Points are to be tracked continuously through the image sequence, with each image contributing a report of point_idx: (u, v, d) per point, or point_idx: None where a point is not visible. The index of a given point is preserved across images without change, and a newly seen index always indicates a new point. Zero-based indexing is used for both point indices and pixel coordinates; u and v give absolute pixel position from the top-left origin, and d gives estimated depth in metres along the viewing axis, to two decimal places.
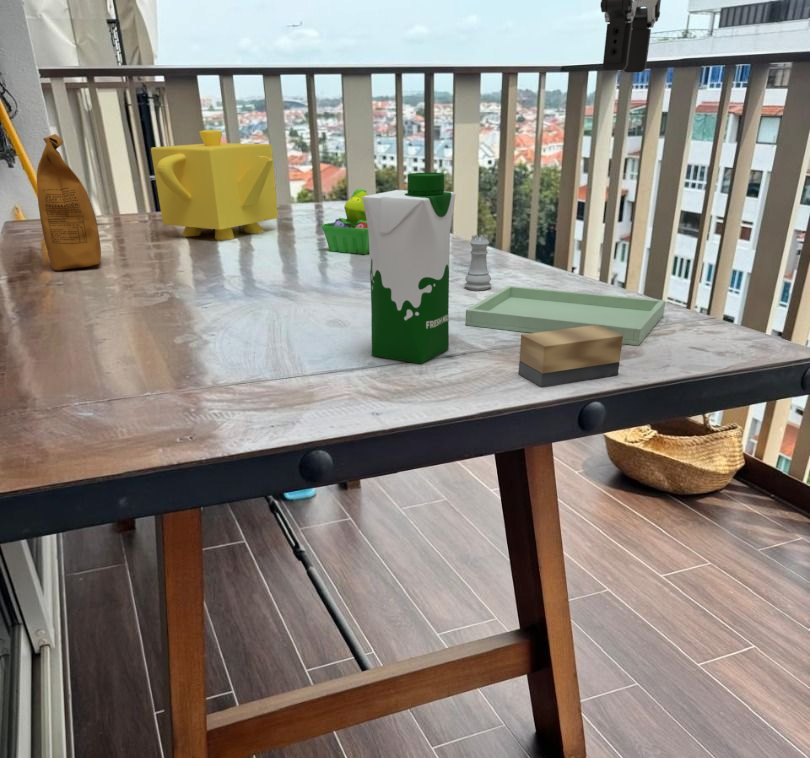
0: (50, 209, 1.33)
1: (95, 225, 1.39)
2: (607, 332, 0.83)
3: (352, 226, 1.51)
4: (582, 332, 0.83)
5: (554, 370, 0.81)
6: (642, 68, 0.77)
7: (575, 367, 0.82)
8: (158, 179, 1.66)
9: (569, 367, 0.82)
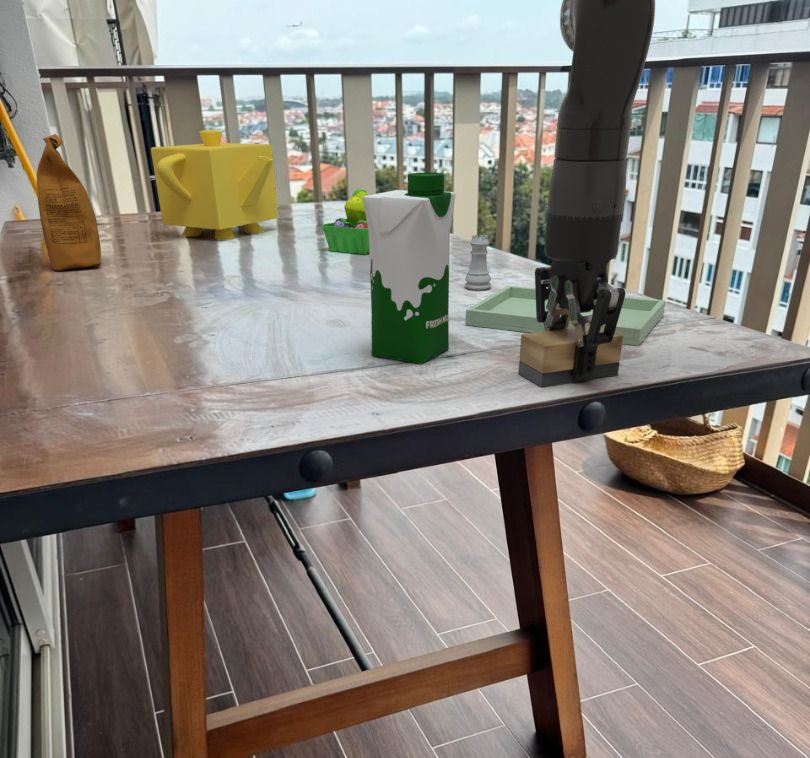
0: (50, 209, 1.33)
1: (95, 225, 1.39)
2: None
3: (352, 226, 1.51)
4: None
5: (554, 370, 0.81)
6: None
7: None
8: (158, 179, 1.66)
9: (569, 367, 0.82)
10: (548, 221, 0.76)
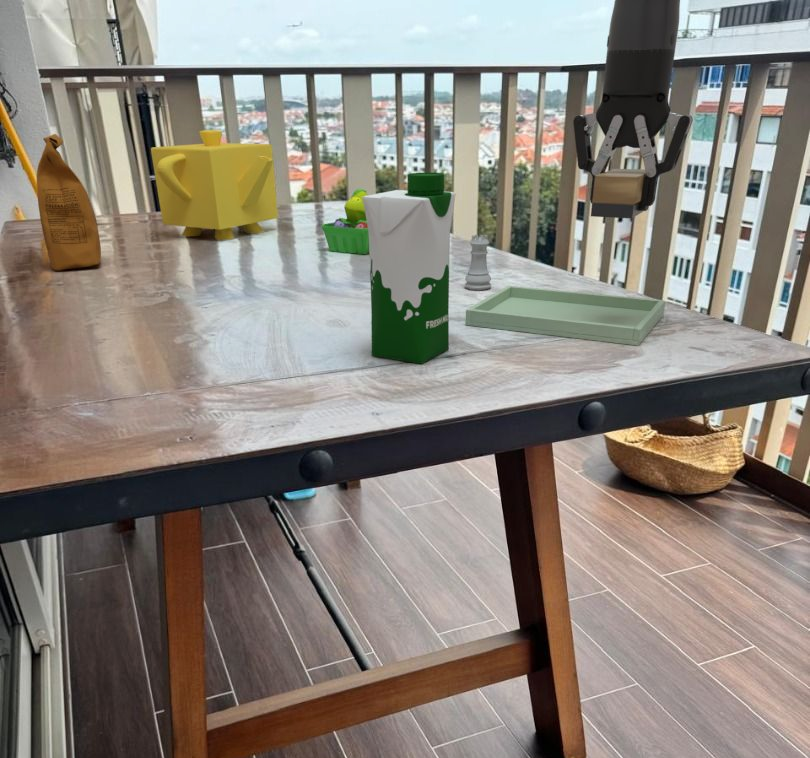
0: (50, 209, 1.33)
1: (95, 225, 1.39)
2: (639, 169, 0.95)
3: (352, 226, 1.51)
4: (626, 171, 0.93)
5: (636, 202, 0.90)
6: None
7: None
8: (158, 179, 1.66)
9: (640, 199, 0.91)
10: (625, 58, 0.83)
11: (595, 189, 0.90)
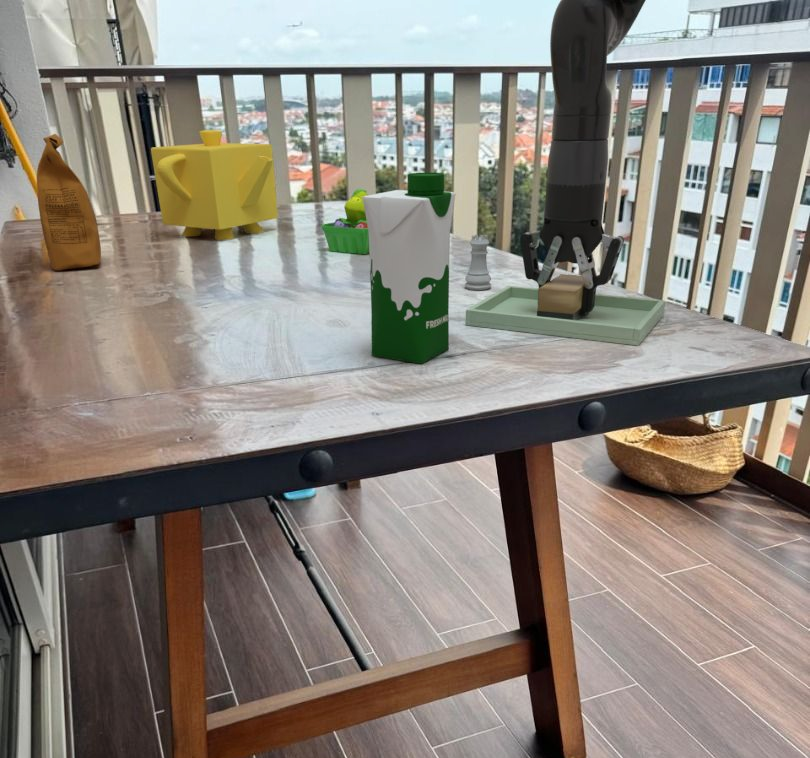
0: (50, 209, 1.33)
1: (95, 225, 1.39)
2: (581, 276, 1.06)
3: (352, 226, 1.51)
4: (569, 279, 1.04)
5: (576, 310, 1.01)
6: None
7: None
8: (158, 179, 1.66)
9: (580, 306, 1.02)
10: (560, 191, 0.95)
11: (539, 299, 1.01)
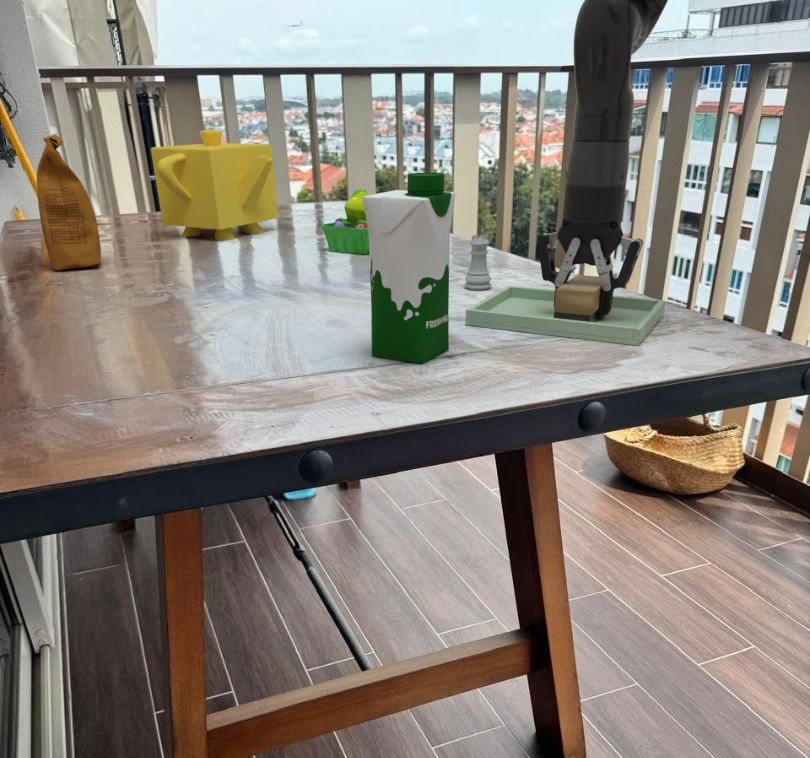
0: (50, 209, 1.33)
1: (95, 225, 1.39)
2: (598, 277, 1.05)
3: (352, 226, 1.51)
4: (586, 280, 1.03)
5: (593, 312, 1.00)
6: None
7: None
8: (158, 179, 1.66)
9: (597, 308, 1.01)
10: (580, 192, 0.94)
11: (556, 300, 1.00)
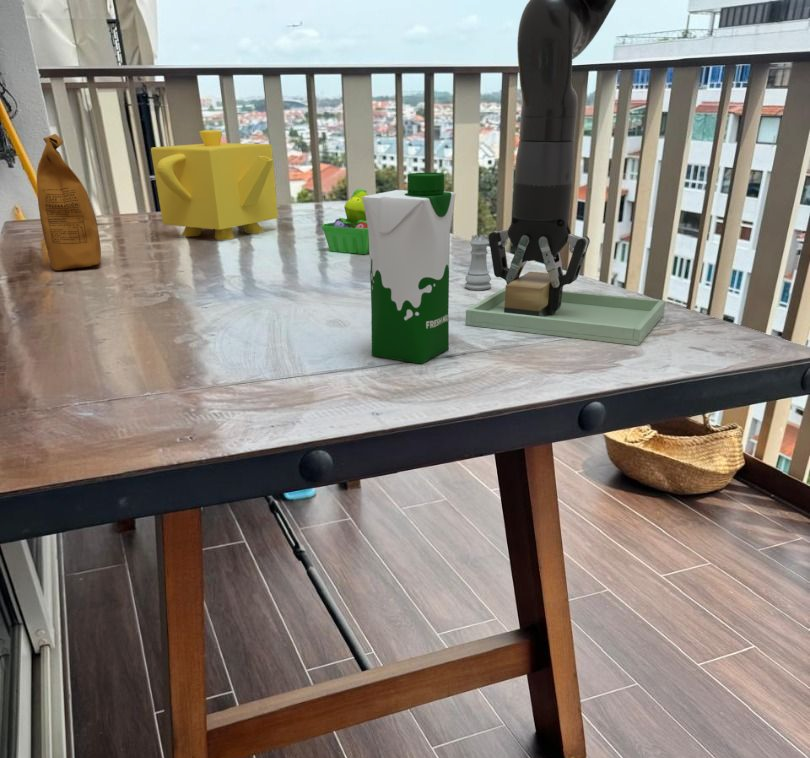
0: (50, 209, 1.33)
1: (95, 225, 1.39)
2: None
3: (352, 226, 1.51)
4: (536, 277, 1.06)
5: (542, 307, 1.02)
6: None
7: None
8: (158, 179, 1.66)
9: (546, 303, 1.04)
10: (527, 191, 0.96)
11: (506, 296, 1.02)
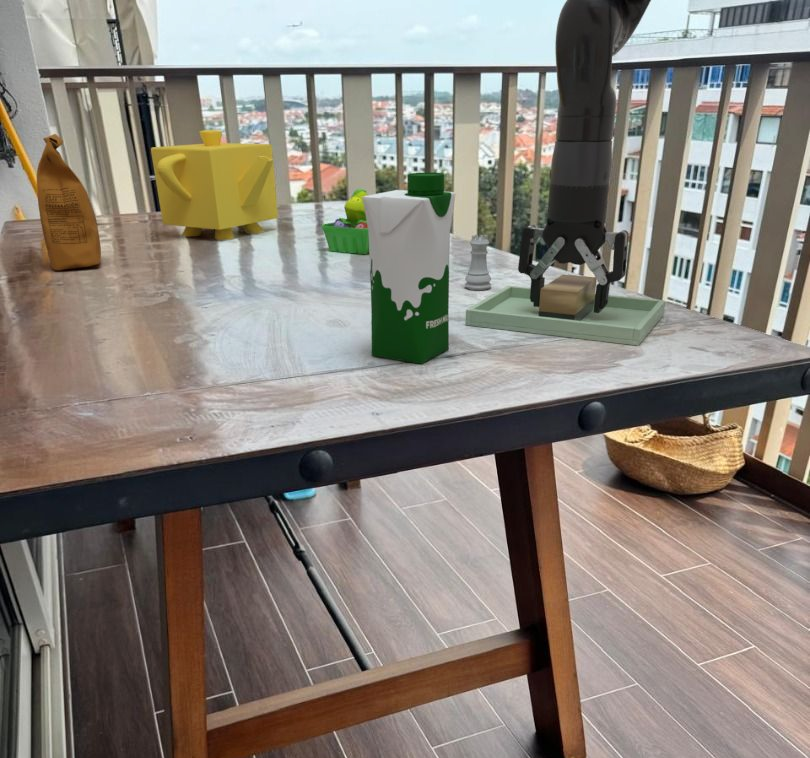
0: (50, 209, 1.33)
1: (95, 225, 1.39)
2: (583, 277, 1.05)
3: (352, 226, 1.51)
4: (570, 280, 1.04)
5: (578, 311, 1.00)
6: None
7: (583, 307, 1.03)
8: (158, 179, 1.66)
9: (582, 307, 1.02)
10: (564, 192, 0.94)
11: (541, 300, 1.00)
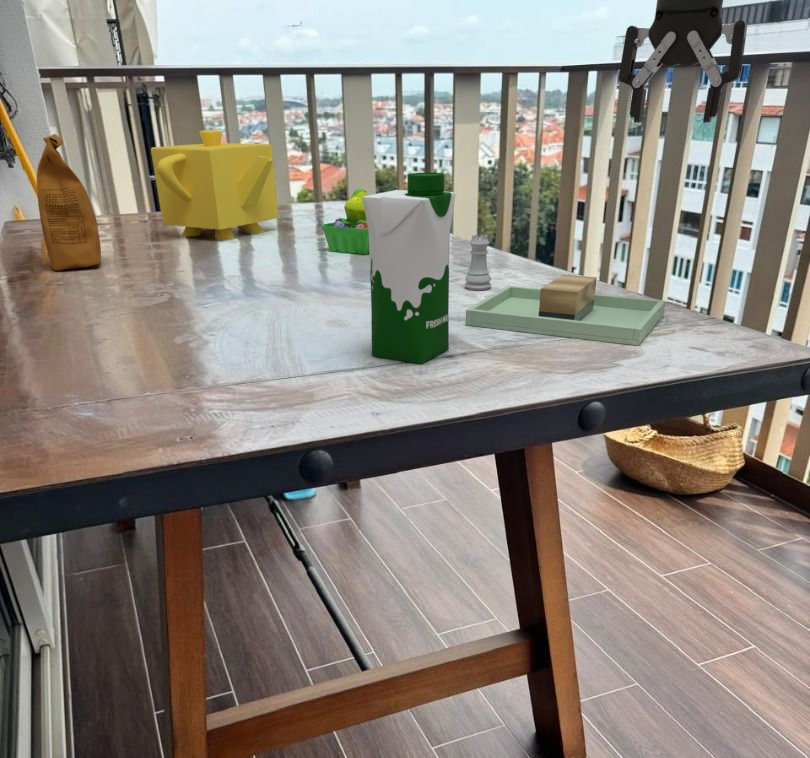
0: (50, 209, 1.33)
1: (95, 225, 1.39)
2: (583, 277, 1.05)
3: (352, 226, 1.51)
4: (570, 280, 1.04)
5: (578, 311, 1.00)
6: (642, 119, 0.98)
7: (583, 307, 1.03)
8: (158, 179, 1.66)
9: (582, 307, 1.02)
10: None
11: (541, 300, 1.00)
